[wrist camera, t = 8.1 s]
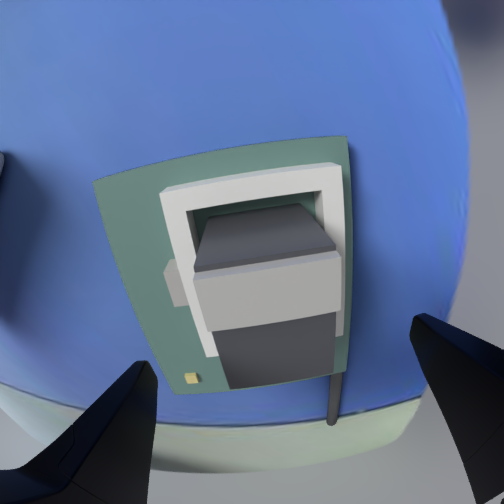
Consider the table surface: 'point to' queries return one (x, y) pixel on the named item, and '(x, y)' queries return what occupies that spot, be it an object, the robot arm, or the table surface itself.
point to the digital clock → (1, 161)
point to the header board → (192, 229)
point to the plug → (269, 294)
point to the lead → (334, 398)
